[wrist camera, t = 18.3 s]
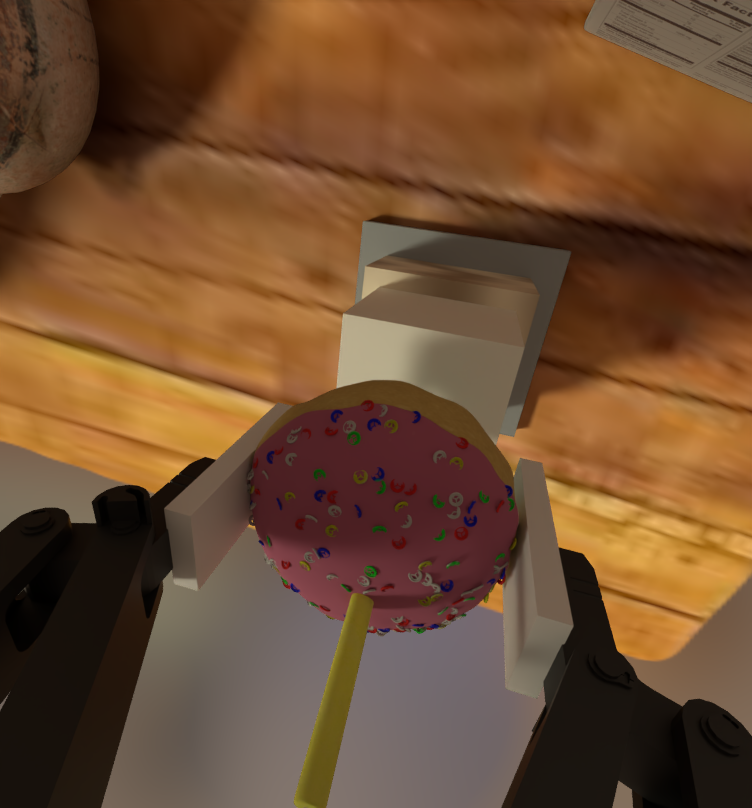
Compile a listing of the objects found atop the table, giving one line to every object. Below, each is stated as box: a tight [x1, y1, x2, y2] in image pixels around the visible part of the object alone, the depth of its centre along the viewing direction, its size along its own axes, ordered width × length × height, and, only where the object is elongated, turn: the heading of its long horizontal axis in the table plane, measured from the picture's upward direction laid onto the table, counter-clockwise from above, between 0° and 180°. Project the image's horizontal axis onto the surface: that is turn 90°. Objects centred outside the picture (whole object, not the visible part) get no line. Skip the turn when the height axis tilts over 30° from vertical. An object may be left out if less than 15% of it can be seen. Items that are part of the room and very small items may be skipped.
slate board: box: [355, 220, 571, 437], centre depth 32 cm, size 14×14×1 cm
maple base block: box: [362, 255, 540, 347], centre depth 29 cm, size 10×10×6 cm
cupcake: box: [247, 380, 519, 808], centre depth 12 cm, size 9×8×12 cm
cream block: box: [337, 287, 525, 445], centre depth 23 cm, size 8×8×7 cm
